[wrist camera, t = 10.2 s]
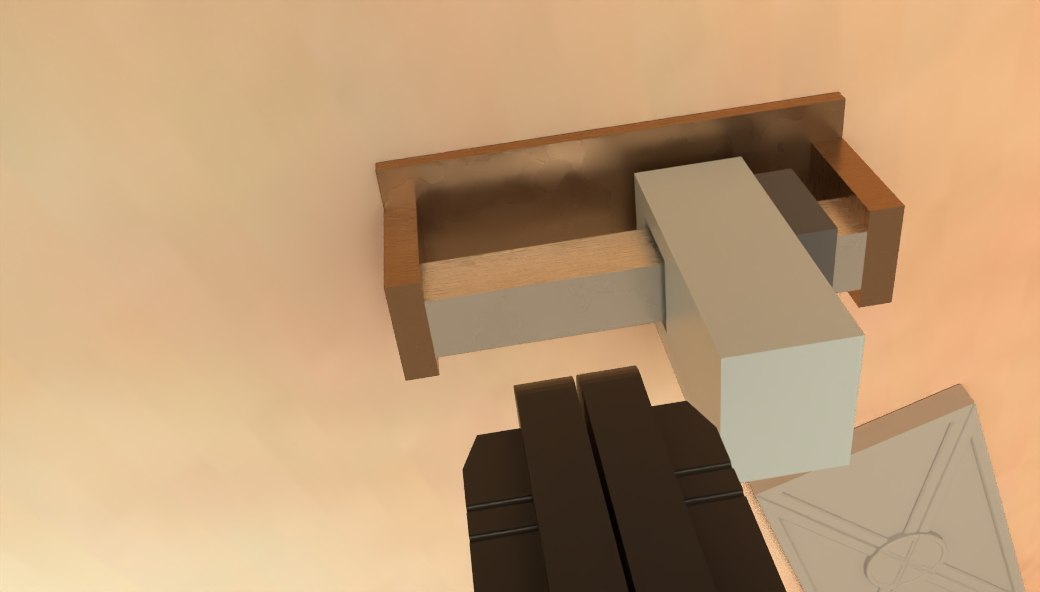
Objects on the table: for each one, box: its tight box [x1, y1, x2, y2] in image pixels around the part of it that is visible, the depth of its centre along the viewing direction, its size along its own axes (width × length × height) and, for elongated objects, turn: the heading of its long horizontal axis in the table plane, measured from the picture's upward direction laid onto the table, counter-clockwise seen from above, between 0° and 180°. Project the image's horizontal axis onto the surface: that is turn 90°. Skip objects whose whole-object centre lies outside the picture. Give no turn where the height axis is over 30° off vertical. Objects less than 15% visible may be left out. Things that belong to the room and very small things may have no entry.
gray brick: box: [754, 168, 838, 288], centre depth 43 cm, size 2×5×5 cm, turn 7°
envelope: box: [749, 384, 1025, 592], centre depth 64 cm, size 24×2×14 cm
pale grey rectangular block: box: [634, 157, 865, 483], centre depth 40 cm, size 5×6×14 cm
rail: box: [376, 92, 905, 381], centre depth 44 cm, size 22×9×8 cm, turn 97°
